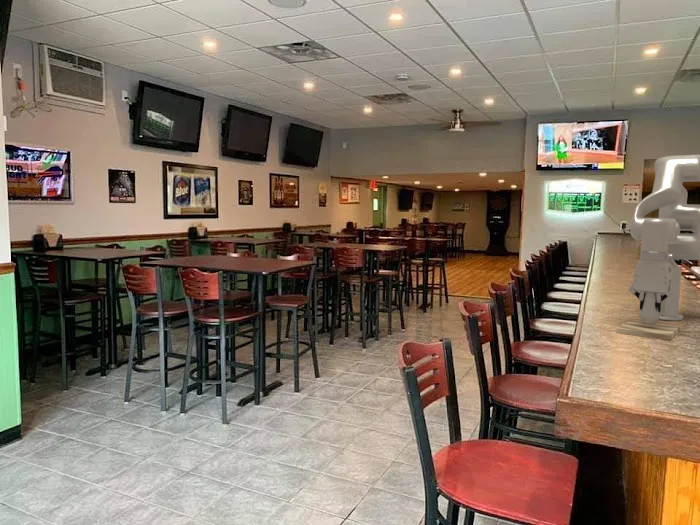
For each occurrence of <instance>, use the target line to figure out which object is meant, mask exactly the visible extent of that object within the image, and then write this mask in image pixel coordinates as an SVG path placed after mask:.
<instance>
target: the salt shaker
mask: <svg viewBox="0 0 700 525" xmlns="http://www.w3.org/2000/svg"><path fill="white" fill-rule="evenodd" d="M650 290H651V289H650ZM656 300H657V297H656V293H654V292H646V293H645V297H644V305H643V308H641V309H642V312H641V310H640V312H639V317H640V319H641V320H640V321H642V322H643V323H647V324H656V323H658V322H659V318H660V312H658V308H657V312H656V308H655V302H657V301H656Z"/></svg>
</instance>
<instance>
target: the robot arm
mask: <svg viewBox="0 0 700 525" xmlns="http://www.w3.org/2000/svg"><path fill="white" fill-rule="evenodd" d="M653 166H654V169H653V170H654V175H655V177H654V181H653V185H652V186H653V187H652V190H651V191H652V192H651V193H650V194H648V195H647V196H646V197H644V198H643V199H642V200H640V202H638V204H637V205H636V206H635V208H634V209H633V212H632V217H631V222H630V225H629V233H630V236H631V238H633V239H634V240H636V241H638V240H639V241H640V242H641V243H640V253H639V254H640V256H639V260H637V262H636V266H635V270H634V276H633V282H632V284H631V285H630V286H629V289H628V292H630V293H631V294H632V295H635V296H636V298H637V299H638V300H639V310H640V311H641V312H642V309H641V308H643V305H644V297H645V293H646V292H654V293H656V297H657V300H656V301H657V302H655V308H656V312H657V308H658V312H660V318H659V320H661V321H672V322H673V321H676V322H677V321H683V320H684V315H682V314H679V310H680V297H681V284H682V282H681V281H682V270H681V267H680V266H679V264H678V263H676V261H674V260H687V261H688V260H690V261H699V260H700V204H688V202H687V201H688V190H687V189H686V188H685V187H684V185H683V183H687V182H688V183H690V182H691V183H693V182H700V154H685V155H684V154H683V155H679V154H678V155H667V156H666V155H665V156H662V157H659V158H658V159H656V160H655V161H654V165H653ZM657 210H658V217H645V216H646V215H648V214H649V213H651V212H653V211H657ZM681 231H684V232H681ZM686 231H687V232H686ZM689 231H690V232H691V233H690V232H689ZM688 232H689V233H688ZM650 289H651V290H650ZM659 320H658V321H659Z"/></svg>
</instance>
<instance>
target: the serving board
mask: <svg viewBox="0 0 700 525" xmlns="http://www.w3.org/2000/svg"><path fill="white" fill-rule="evenodd" d="M680 331H681V326H680V325H673V324H672V325H671V324H665V323H664V324H663V323H658V322H657V323H656V324H647V323H643V322H642V320H632V319H629V320H628V321H626V322H624V323H623V324H620V325H619V326H618V327H616V334H617V333H618V334H621V335H622V334H624V335H631V336H636V337H637V336H638V337H642V336H643V337H644V338H650V339H657V340H664V341H671V340H672V339H673V338H674V337H676V335H677V334H678V333H680ZM643 337H642V338H643Z"/></svg>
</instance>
